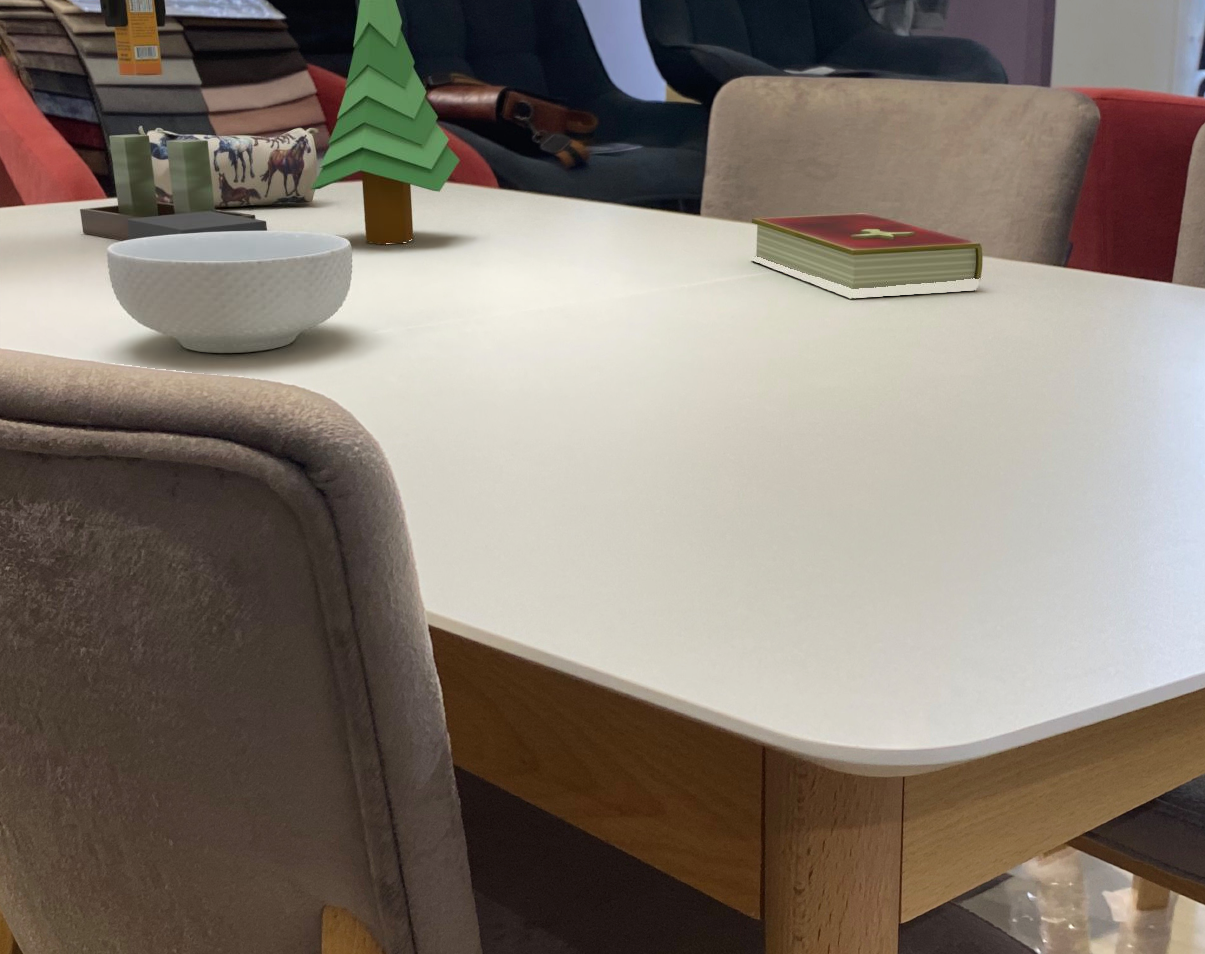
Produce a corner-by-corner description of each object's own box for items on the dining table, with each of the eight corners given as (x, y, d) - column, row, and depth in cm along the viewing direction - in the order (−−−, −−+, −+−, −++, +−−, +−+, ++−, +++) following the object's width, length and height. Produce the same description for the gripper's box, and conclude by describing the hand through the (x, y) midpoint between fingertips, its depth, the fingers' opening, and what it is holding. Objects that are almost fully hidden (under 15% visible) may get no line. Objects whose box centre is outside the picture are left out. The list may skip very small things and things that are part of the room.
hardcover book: (865, 254, 140) (868, 209, 138) (980, 291, 121) (984, 239, 120) (750, 261, 137) (752, 215, 135) (849, 299, 118) (853, 246, 116)
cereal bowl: (393, 351, 101) (387, 247, 98) (151, 379, 93) (137, 268, 90) (312, 312, 114) (304, 220, 112) (95, 334, 107) (82, 236, 104)
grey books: (197, 297, 121) (190, 231, 119) (125, 282, 128) (117, 219, 126) (290, 282, 127) (284, 219, 125) (216, 269, 134) (210, 209, 132)
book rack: (181, 250, 146) (169, 145, 142) (83, 233, 158) (69, 136, 154) (257, 240, 152) (248, 139, 148) (157, 224, 164) (146, 131, 160)
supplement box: (115, 74, 143) (104, -36, 139) (147, 74, 145) (137, -34, 141) (132, 75, 140) (121, -37, 137) (164, 75, 143) (154, -35, 139)
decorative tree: (300, 250, 145) (273, -81, 133) (352, 230, 159) (332, -71, 148) (431, 253, 142) (414, -83, 131) (472, 232, 157) (460, -73, 145)
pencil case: (142, 214, 173) (131, 128, 169) (142, 206, 180) (132, 124, 176) (327, 207, 178) (320, 124, 174) (320, 199, 186) (313, 119, 182)
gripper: (168, -175, 142) (188, 26, 149) (6, -191, 131) (37, 27, 138) (210, -182, 137) (229, 26, 144) (46, -199, 126) (76, 27, 133)
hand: (135, 24), depth 141 cm, fingers closed on supplement box, 3 cm apart
